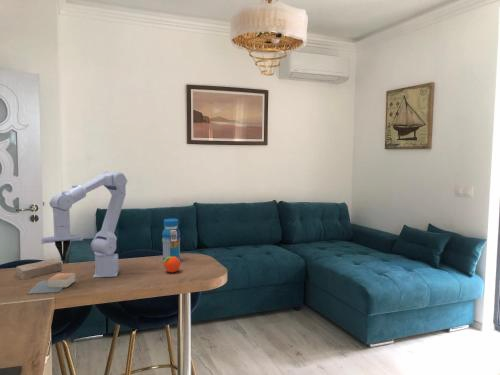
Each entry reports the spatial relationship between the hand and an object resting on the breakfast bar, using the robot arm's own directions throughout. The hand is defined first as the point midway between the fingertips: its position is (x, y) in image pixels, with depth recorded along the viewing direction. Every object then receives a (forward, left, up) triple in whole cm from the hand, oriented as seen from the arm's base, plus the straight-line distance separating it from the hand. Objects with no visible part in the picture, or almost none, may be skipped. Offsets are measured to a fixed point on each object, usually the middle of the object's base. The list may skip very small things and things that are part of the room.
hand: (63, 260), depth 162 cm
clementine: (-41, -12, -11) cm, 44 cm away
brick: (+15, -20, -11) cm, 27 cm away
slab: (-2, -1, -8) cm, 9 cm away
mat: (+6, 0, -10) cm, 12 cm away
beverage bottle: (-41, -31, -11) cm, 52 cm away
